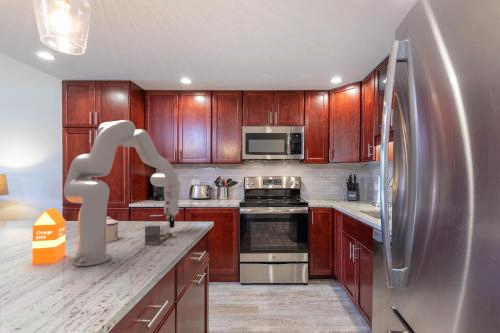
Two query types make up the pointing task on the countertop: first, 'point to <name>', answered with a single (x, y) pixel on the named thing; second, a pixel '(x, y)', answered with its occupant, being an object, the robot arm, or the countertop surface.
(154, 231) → the gauge base
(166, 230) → the gauge slider
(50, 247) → the orange juice
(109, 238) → the teacup with lid
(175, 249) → the countertop surface
